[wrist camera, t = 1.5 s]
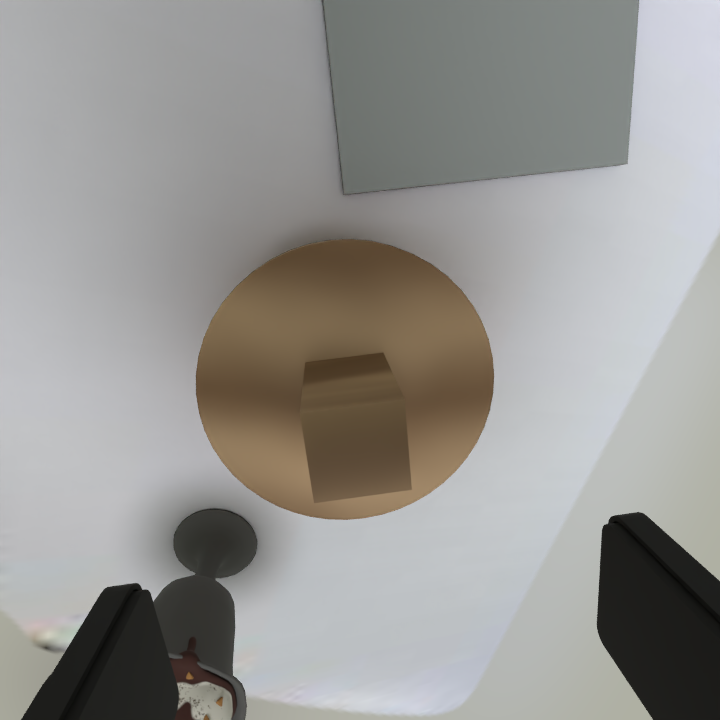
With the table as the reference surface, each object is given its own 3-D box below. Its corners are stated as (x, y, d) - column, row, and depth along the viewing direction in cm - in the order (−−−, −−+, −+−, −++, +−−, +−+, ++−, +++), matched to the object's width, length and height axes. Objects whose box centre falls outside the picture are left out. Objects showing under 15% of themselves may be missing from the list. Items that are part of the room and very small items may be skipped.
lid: (171, 257, 18) (101, 277, 12) (483, 222, 18) (556, 225, 13) (232, 522, 22) (200, 633, 16) (488, 487, 22) (546, 581, 16)
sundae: (291, 523, 28) (260, 849, 13) (239, 601, 29) (161, 970, 15) (190, 477, 26) (35, 788, 12) (141, 561, 28) (-50, 929, 13)
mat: (303, -181, 18) (302, -194, 17) (644, -204, 19) (654, -217, 18) (343, 194, 22) (344, 194, 22) (619, 165, 23) (627, 163, 22)
